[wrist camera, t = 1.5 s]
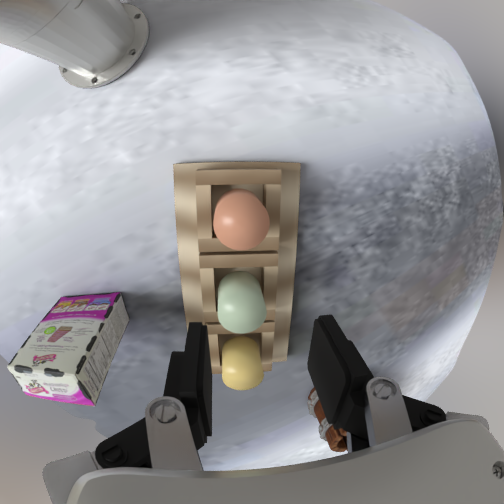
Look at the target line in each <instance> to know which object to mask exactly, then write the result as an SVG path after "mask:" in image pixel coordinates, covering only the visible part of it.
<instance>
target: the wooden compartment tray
mask: <svg viewBox="0 0 504 504" xmlns="http://www.w3.org/2000/svg"><path fill="white" fill-rule="evenodd" d="M173 168H174V195H175V214H176V229H177V243H178V255H179V265H180V275H181V285H182V294H183V302H184V310H185V317H186V325H187V332H188V326H189V322H202V324H203V325H207V328H208V339H209V348H210V358H211V367H212V374H222V347H223V345H224V343H225V342H226V341H227V340H229V339H231V338H233V337H237V336H245V337H249V338H251V339H253V340H254V341H255V342H256V343H257V344H258V347H259V352H260V358H261V363H262V368H263V372H264V371H272V362H279V361H286V359H287V351H288V341H289V332H290V322H291V311H292V300H293V288H294V276H295V262H296V248H297V232H298V213H299V191H300V163H289V162H202V163H181V164H173ZM237 188H242V189H246V190H249V191H251V192H252V193H254V194H255V195H256V196H257V197H258V199H259V200H260V201H261V203H262V204H263V206H264V207H265V208H266V210H267V212H268V215H269V219H270V226H269V231H268V233H267V235H266V237H265V238H264V240H263V241H262V242H261V243H260V244H259V245H257V246H256V247H254V248H251V249H248V250H234V249H231V248H228V247H227V246H225V245H224V244H222V243H221V242H220V241H219V239H218V238H217V236H216V234H215V231H214V226H213V221H214V214H215V208H216V204H217V202H218V200H219V198H220V197H221V196H222V195H223V194H224V193H225V192H227V191H229V190H232V189H237ZM235 271H245V272H248V273H250V274H252V275H254V276H255V277H256V278H257V280H258V281H259V284H260V287H261V291H262V295H263V298H264V302H265V306H266V310H267V314H266V319H265V321H264V322H263V324H262V325H261V326H260V327H259V328H258V329H256V330H254V331H252V332H249V333H243V334H239V333H233V332H231V331H228V330H227V329H225V328H224V327H223V326H222V325H221V323H220V322H219V319H218V287H219V283H220V281H221V280H222V279H223V278H224V277H225V276H226V275H227V274H229V273H231V272H235Z"/></svg>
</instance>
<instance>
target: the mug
mask: <svg viewBox="0 0 504 504" xmlns="http://www.w3.org/2000/svg"><path fill="white" fill-rule="evenodd" d="M308 399H309V400H308V409H309V411H310V412H309V414H310V415H313V416H314V417H315V418H317V419H318V421H319V423H320V426H319V433H320V435H321V436H320V438H321V439H324V440H325V441H327V442H328V444H329V447H330V449H331V450H332V451H336V452H344V451H345V450H347V451H348V446H347V431H344V430H343V429H342V428H341V429H336V430H334V428H333V426H332V424H328V422H327V420H326V417H325V414H324V411H323V409H322V406H321V403H320V400H319V398H318V395H317V392H316V390H315V387H314V388H313V389H312V390H311V392H310V395H309V397H308Z"/></svg>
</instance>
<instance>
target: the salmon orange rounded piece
mask: <svg viewBox="0 0 504 504" xmlns="http://www.w3.org/2000/svg"><path fill="white" fill-rule="evenodd" d="M213 226H214V231H215V234H216V236H217V238H218V239H219V241H220V242H221V243H222V244H224V245H225V246H227V247H228V248H231V249H234V250H248V249H251V248H254V247H256V246H257V245H259V244H260V243H261V242H262V241H263V240H264V238H265V237H266V235H267V233H268V231H269V226H270V219H269V215H268V212H267V210H266V208H265V207H264V206H263V204H262V203H261V201H260V200H259V199H258V197H257V196H256V195H255V194H254V193H252V192H251V191H249V190H246V189H242V188H237V189H232V190H229V191H227V192H225V193H224V194H223V195H222V196H221V197H220V198H219V200H218V202H217V204H216V208H215V214H214V221H213Z"/></svg>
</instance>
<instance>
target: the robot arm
mask: <svg viewBox="0 0 504 504" xmlns="http://www.w3.org/2000/svg"><path fill="white" fill-rule="evenodd" d="M148 36H149V25H148V21H147V19H146V17H145V15H144V14H143V12H142V11H141V10H140V9H139V8H137V7H136V6H133V5H131V4H127V3H121V2H120V0H0V43H1V44H4V45H7V46H10V47H13V48H16V49H19V50H21V51H24V52H27V53H29V54H32V55H35V56H37V57H40V58H42V59H45V60H47V61H49V62H52V63H54V64H57V65H59V70H60V73H61V75H62V77H63V78H64V79H65V81H67V82H68V83H69V84H71V85H73V86H76V87H79V88H96V87H100V86H103V85H106V84H108V83H110V82H112V81H114V80H116V79H117V78H119V77H120V76H121V75H123V74H124V73H125V72H126V71H127V70H128V69H130V68H131V67H132V66H133V64H134V63H135V62H136V61H137V60H138V58H139V57H140V55H141V54H142V52H143V50H144V48H145V46H146V43H147V40H148ZM134 53H135V54H134ZM133 54H134V55H133ZM96 81H97V82H96ZM308 371H309V373H310V376H311V379H312V381H313V384H314V387H315V390H316V392H317V395H318V398H319V400H320V403H321V406H322V409H323V411H324V414H325V417H326V420H327V422H328V424H332V426H333V428H334V430H336V429H341V428H342V429H343V430H344V431H347V446H348V454H344V455H340V456H336V457H332V458H327V459H322V460H318V461H312V462H307V463H301V464H295V465H288V466H281V467H272V468H263V469H251V470H234V471H204V470H203V467H202V464H201V460H200V457H199V454H198V451H197V450H198V449H200V448H201V447H202V446H204V443H207V436H212V367H211V358H210V348H209V339H208V328H207V325H203V324H202V322H189V326H188V332H187V338H186V345H185V351H184V352H175V351H173V352H172V354H171V358H170V363H169V368H168V373H167V379H166V384H165V389H164V395H163V397H158V398H156V399H154V400H152V401H151V402H150V403H149V404H148V405H147V407H146V409H145V418H143V419H141V420H140V421H138V422H136V423H135V424H133V425H131V426H129V427H128V428H126V429H124V430H122V431H121V432H119V433H117V434H115V435H113V436H112V437H110V438H108V439H106V440H104V441H103V442H101V443H100V444H99V445H98V446H97V448H96V451H93V452H89V451H85V452H82V453H79V454H76V455H73V456H70V457H67V458H64V459H60V460H57V461H53V462H50V463H48V464H47V465H46V466H45V467H44V469H43V479H44V482H45V485H46V488H47V490H48V493H49V496H50V498H51V501H52V503H53V504H504V451H503V449H502V448H501V446H500V445H499V443H498V442H497V440H496V439H495V438H494V436H493V435H492V434H491V433H490V432H489V425H488V422H487V420H486V419H485V418H483V417H482V416H478V415H468V414H461V413H454V412H447V414H445V413H444V411H443V410H442V409H441V408H439V407H437V406H435V405H432V404H428V403H425V402H422V401H419V400H416V399H413V398H410V397H407V396H404V395H402V393H401V390H400V387H399V385H398V384H397V383H396V382H395V381H394V380H392V379H390V378H387V377H375V378H374V377H373V375H372V373H371V372H370V370H369V368H368V367H367V365H366V363H365V362H364V360H363V358H362V357H361V355H360V354H359V352H358V350H357V349H356V347H355V345H354V344H353V342H352V341H350V340H347V338H346V336H345V335H344V333H343V332H342V330H341V328H340V327H339V325H338V323H337V322H336V320H335V319H334V317H333V316H332V315H322V316H319V317H318V319H315V321H314V327H313V334H312V340H311V346H310V352H309V358H308Z"/></svg>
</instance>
